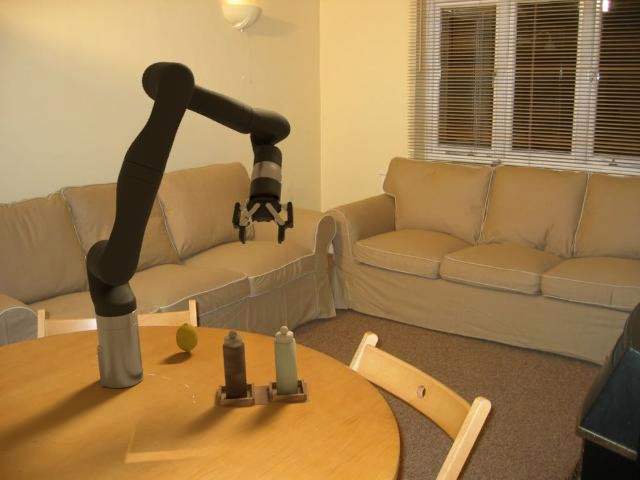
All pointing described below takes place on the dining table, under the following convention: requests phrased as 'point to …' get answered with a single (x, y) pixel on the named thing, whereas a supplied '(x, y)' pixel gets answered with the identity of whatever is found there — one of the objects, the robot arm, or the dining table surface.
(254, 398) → the cruet stand
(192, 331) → the lemon
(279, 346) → the salt mill
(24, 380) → the dining table surface
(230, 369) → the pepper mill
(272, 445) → the dining table surface
